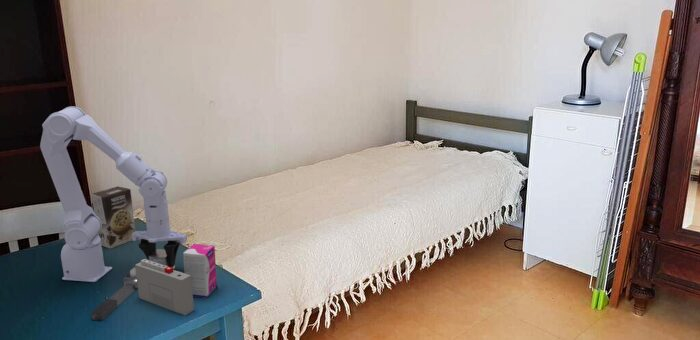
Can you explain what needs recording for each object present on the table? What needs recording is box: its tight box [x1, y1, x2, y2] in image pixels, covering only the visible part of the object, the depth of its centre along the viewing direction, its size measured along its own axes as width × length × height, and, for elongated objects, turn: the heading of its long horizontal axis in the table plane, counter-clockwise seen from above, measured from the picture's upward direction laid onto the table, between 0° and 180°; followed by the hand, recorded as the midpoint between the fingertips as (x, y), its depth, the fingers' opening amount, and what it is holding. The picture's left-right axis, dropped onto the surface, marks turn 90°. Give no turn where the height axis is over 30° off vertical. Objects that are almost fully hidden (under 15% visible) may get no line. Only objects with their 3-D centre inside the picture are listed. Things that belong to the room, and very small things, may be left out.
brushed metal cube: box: [149, 248, 176, 270], centre depth 145 cm, size 5×5×5 cm
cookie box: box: [91, 186, 136, 249], centre depth 162 cm, size 9×6×16 cm
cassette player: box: [134, 258, 195, 316], centre depth 128 cm, size 16×3×10 cm, turn 60°
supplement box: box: [182, 243, 218, 299], centre depth 133 cm, size 6×6×12 cm
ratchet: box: [90, 267, 138, 322], centre depth 132 cm, size 20×6×4 cm, turn 171°
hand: (162, 265), depth 145 cm, fingers closed on brushed metal cube, 5 cm apart
